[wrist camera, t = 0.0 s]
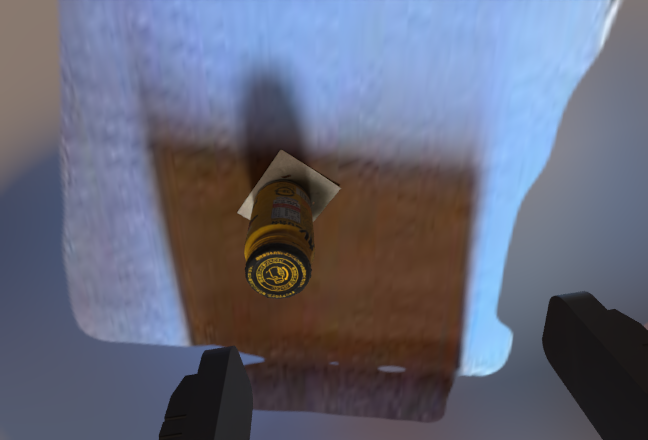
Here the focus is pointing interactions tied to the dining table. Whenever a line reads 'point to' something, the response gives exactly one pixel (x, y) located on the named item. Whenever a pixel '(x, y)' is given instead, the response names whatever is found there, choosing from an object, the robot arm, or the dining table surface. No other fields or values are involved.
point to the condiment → (283, 226)
